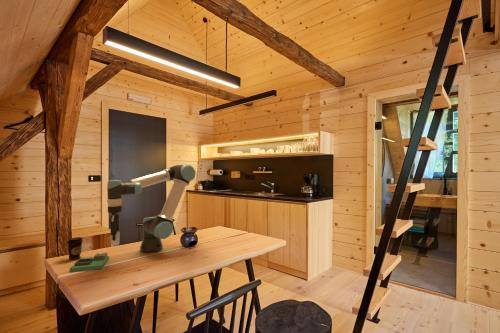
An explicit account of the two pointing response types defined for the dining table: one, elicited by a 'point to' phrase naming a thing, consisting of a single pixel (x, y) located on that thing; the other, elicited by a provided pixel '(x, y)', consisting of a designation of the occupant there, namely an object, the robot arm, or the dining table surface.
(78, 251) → the coffee cup
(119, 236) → the plug
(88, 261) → the board
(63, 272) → the dining table surface
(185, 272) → the dining table surface
